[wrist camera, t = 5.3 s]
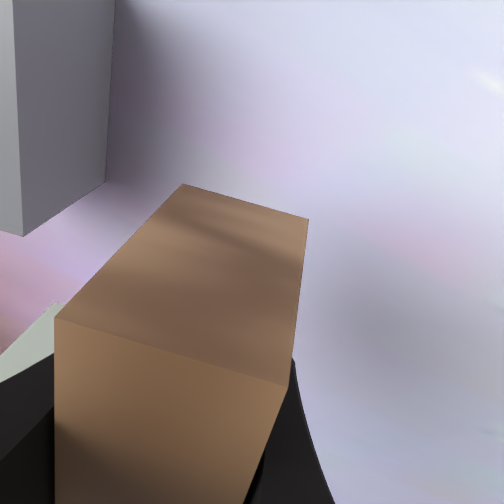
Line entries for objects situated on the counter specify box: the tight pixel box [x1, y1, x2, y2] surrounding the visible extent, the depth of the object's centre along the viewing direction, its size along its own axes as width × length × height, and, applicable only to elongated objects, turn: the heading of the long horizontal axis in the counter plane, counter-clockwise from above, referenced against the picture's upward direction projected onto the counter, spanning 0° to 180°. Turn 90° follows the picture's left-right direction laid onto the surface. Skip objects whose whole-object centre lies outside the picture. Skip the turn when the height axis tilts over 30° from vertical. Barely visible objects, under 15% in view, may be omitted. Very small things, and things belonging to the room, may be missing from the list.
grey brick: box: [0, 0, 115, 237], centre depth 15 cm, size 4×8×6 cm, turn 167°
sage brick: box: [0, 302, 65, 382], centre depth 23 cm, size 4×8×6 cm, turn 167°
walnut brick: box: [54, 184, 309, 504], centre depth 11 cm, size 4×8×6 cm, turn 167°
